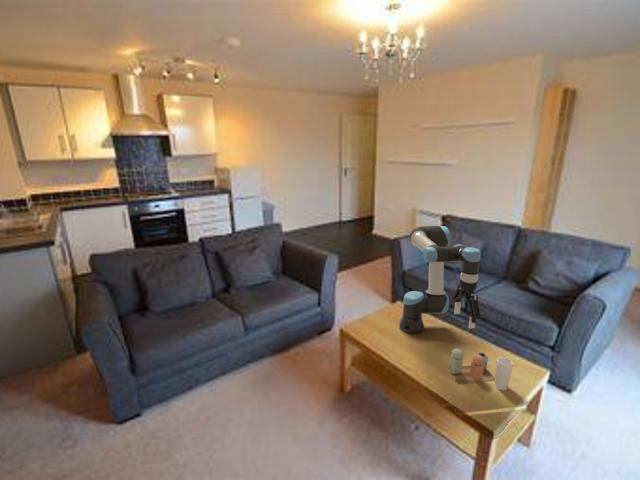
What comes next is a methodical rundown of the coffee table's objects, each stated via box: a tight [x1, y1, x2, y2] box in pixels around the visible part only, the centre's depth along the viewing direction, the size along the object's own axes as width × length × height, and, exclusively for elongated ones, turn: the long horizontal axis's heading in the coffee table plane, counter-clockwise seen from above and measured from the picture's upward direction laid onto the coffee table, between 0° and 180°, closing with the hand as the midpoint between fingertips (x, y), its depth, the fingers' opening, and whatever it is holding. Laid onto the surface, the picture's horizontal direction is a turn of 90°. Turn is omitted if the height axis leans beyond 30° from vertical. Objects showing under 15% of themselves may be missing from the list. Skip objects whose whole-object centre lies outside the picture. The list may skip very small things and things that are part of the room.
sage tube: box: [449, 354, 464, 374], centre depth 169 cm, size 4×4×8 cm
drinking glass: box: [494, 356, 514, 391], centre depth 157 cm, size 7×7×15 cm
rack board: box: [445, 364, 495, 385], centre depth 168 cm, size 12×20×1 cm, turn 97°
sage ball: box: [451, 348, 464, 359], centre depth 167 cm, size 5×5×5 cm
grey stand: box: [475, 351, 489, 371], centre depth 170 cm, size 4×4×8 cm
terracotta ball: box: [471, 354, 484, 365], centre depth 162 cm, size 5×5×5 cm
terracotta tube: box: [470, 360, 484, 381], centre depth 164 cm, size 4×4×8 cm
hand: (463, 320), depth 164 cm, fingers open, 13 cm apart
